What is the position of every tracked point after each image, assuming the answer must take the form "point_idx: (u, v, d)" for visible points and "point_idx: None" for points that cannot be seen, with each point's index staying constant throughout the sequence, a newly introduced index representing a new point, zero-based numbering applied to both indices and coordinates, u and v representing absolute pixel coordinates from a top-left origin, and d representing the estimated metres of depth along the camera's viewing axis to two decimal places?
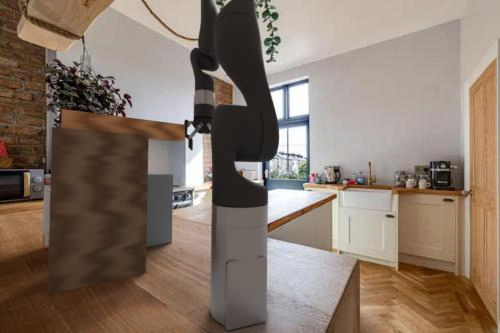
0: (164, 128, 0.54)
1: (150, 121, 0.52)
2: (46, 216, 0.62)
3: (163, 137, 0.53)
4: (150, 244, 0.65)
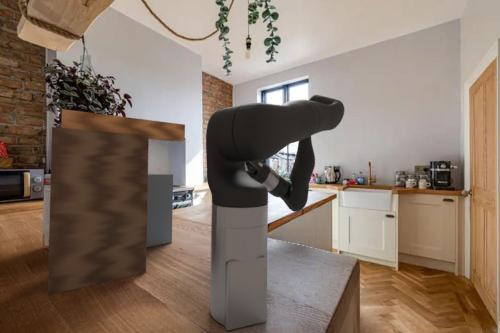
0: (164, 128, 0.54)
1: (150, 121, 0.52)
2: (46, 216, 0.62)
3: (163, 137, 0.53)
4: (150, 244, 0.65)
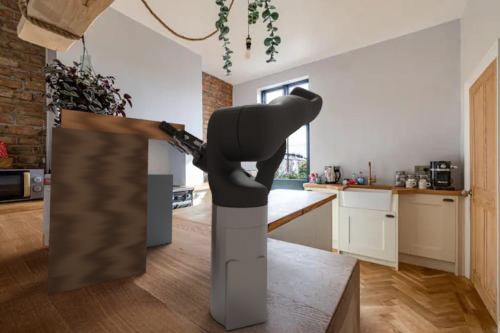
0: None
1: (150, 121, 0.52)
2: (46, 216, 0.62)
3: (163, 137, 0.53)
4: (150, 244, 0.65)
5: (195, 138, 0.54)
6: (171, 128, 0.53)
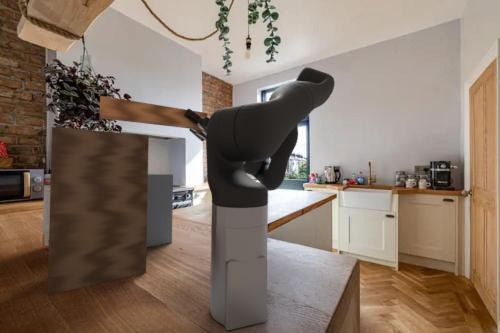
0: None
1: (177, 109, 0.55)
2: (46, 216, 0.62)
3: (188, 124, 0.57)
4: (150, 244, 0.65)
5: None
6: (196, 116, 0.57)
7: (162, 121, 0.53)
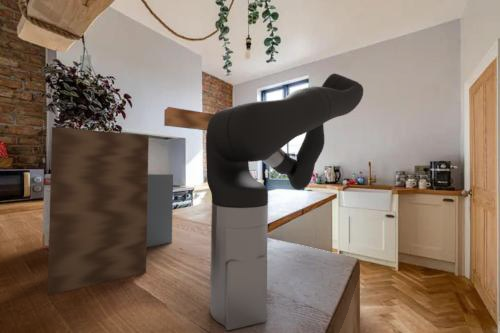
0: None
1: None
2: (46, 216, 0.62)
3: None
4: (150, 244, 0.65)
5: None
6: None
7: None
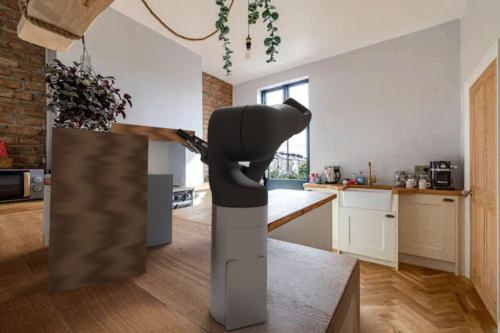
0: None
1: (170, 129, 0.71)
2: (46, 216, 0.62)
3: (179, 140, 0.73)
4: (150, 244, 0.65)
5: (203, 141, 0.73)
6: (185, 134, 0.72)
7: (159, 139, 0.69)
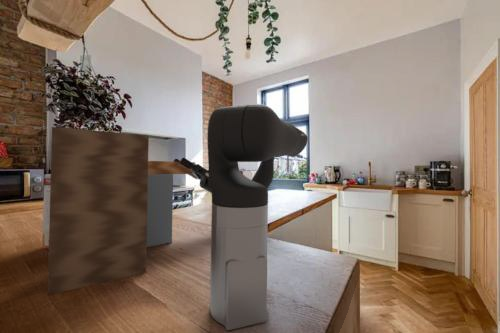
0: (180, 166, 0.73)
1: (170, 162, 0.71)
2: (46, 216, 0.62)
3: (179, 173, 0.73)
4: (150, 244, 0.65)
5: (206, 171, 0.73)
6: (189, 163, 0.71)
7: (158, 173, 0.69)
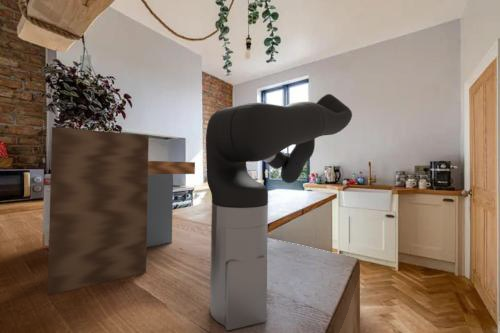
0: (180, 166, 0.73)
1: (170, 162, 0.71)
2: (46, 216, 0.62)
3: (179, 173, 0.73)
4: (150, 244, 0.65)
5: None
6: None
7: (158, 173, 0.69)
